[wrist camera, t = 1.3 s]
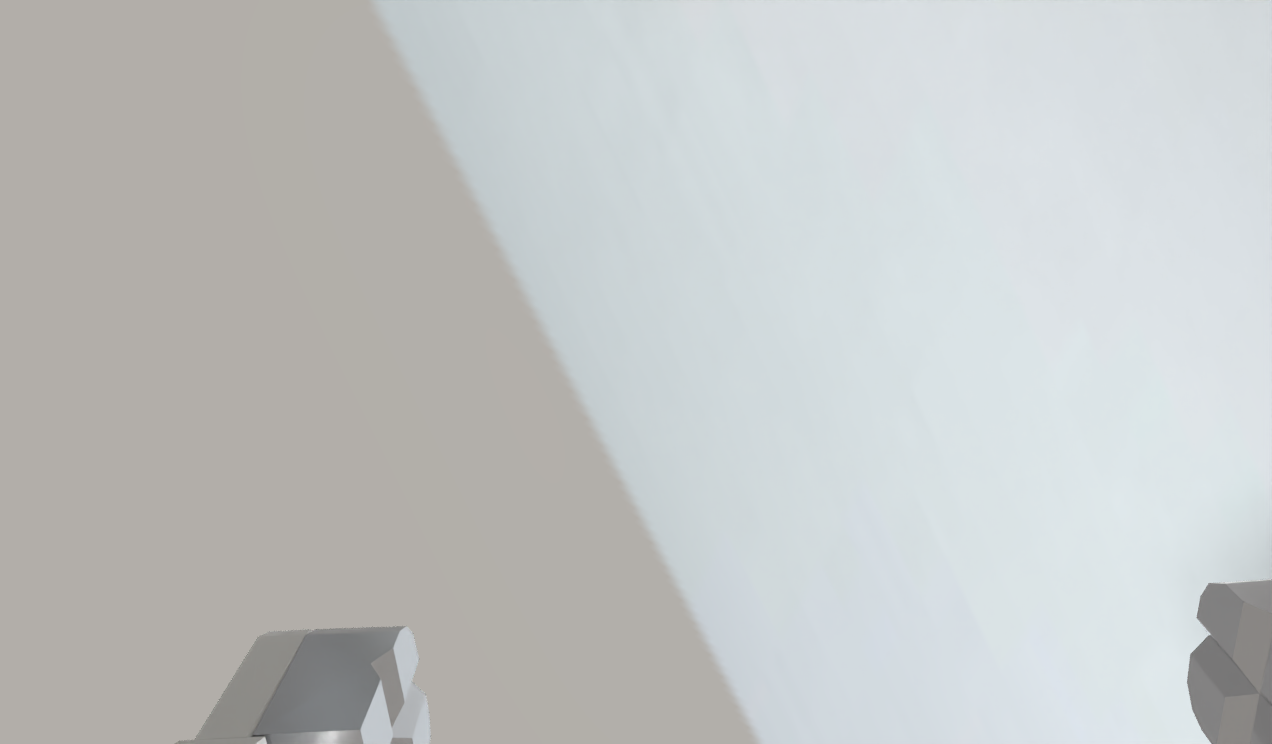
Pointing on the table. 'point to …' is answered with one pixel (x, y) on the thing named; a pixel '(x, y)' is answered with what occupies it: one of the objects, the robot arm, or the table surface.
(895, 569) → the table surface
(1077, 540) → the table surface
